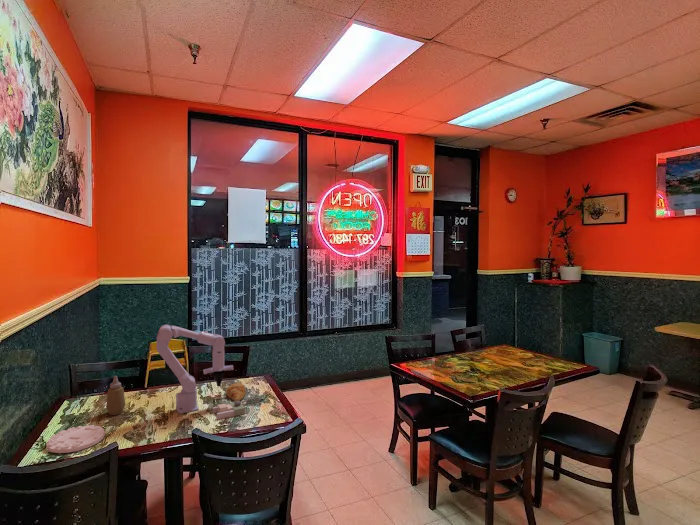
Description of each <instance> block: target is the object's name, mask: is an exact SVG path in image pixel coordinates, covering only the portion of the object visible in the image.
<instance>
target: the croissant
mask: <svg viewBox="0 0 700 525" xmlns="http://www.w3.org/2000/svg"><path fill="white" fill-rule="evenodd" d="M246 392H247V391H246V388H245V385H243V384H242V383H241V382H236V383H233V384H230V385H229V386H228V387H227V389H226V390H225V394H226V396H227V397H228V398H229V399H231V400H233V402H235V401H241V400H243V399H244V397H246V394H247V393H246Z"/></svg>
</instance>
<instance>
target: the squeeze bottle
mask: <svg viewBox="0 0 700 525" xmlns="http://www.w3.org/2000/svg"><path fill="white" fill-rule="evenodd" d="M125 405H126V398H125V390H124V387H123V386H122V382H120V381H119V379H118V376H117V375H114V376H113V380H112V382H111V383H110V384H109V388H108V390H107V395H106V405H105V406H106V407H105V409H106V410H107V412H108V414H109V415H110V416H116V415H120V414H122V413H123V412H124V410H125Z"/></svg>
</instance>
